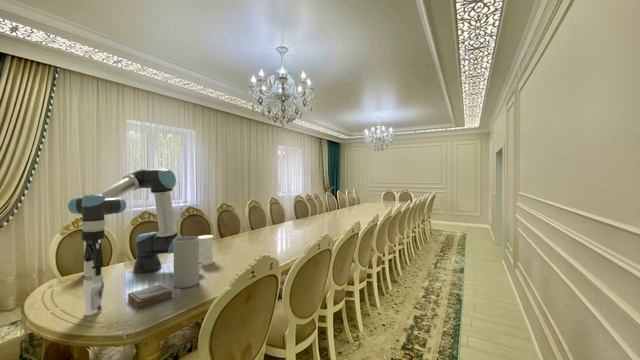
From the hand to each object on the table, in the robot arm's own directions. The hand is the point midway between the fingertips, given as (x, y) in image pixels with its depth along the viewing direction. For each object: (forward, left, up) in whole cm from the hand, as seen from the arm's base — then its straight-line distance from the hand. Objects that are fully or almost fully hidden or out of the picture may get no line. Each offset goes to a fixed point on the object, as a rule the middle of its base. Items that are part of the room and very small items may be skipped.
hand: (93, 279), depth 117 cm
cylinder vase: (0, +40, -15) cm, 43 cm away
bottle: (-63, +13, -15) cm, 66 cm away
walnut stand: (+6, +20, -14) cm, 26 cm away
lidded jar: (-12, +49, -15) cm, 53 cm away
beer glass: (0, 0, -15) cm, 15 cm away
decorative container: (-28, +66, -15) cm, 73 cm away
